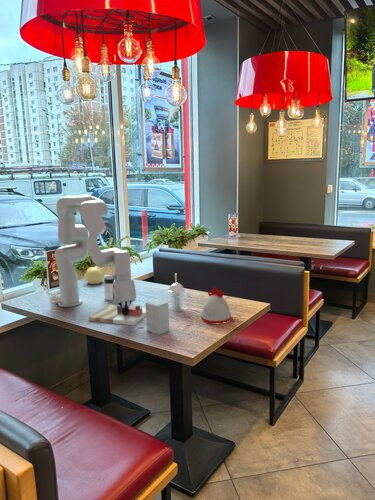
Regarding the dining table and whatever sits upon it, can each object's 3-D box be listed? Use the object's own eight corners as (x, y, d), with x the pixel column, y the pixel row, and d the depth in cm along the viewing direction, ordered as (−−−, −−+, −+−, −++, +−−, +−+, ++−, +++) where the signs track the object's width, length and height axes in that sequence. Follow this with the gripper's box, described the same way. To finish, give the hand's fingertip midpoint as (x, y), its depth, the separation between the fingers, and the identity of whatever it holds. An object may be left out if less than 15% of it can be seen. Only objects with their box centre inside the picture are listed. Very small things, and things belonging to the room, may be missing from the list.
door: (112, 323, 179) (112, 314, 179) (130, 310, 196) (129, 301, 195) (134, 325, 176) (133, 316, 175) (150, 311, 193) (149, 303, 192)
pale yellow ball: (107, 280, 255) (106, 264, 253) (100, 285, 243) (99, 268, 241) (90, 280, 256) (89, 264, 254) (83, 285, 245) (82, 268, 243)
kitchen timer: (222, 326, 172) (221, 294, 169) (195, 321, 179) (194, 289, 176) (235, 316, 183) (235, 286, 180) (210, 311, 190) (209, 282, 188)
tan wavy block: (88, 320, 183) (87, 310, 182) (108, 308, 200) (107, 298, 199) (113, 323, 179) (112, 312, 178) (130, 310, 196) (130, 300, 195)
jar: (108, 301, 211) (106, 280, 209) (102, 297, 218) (100, 277, 216) (123, 298, 216) (121, 277, 214) (117, 294, 223) (115, 274, 220)
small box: (169, 330, 169) (168, 302, 166) (159, 335, 164) (157, 306, 162) (157, 326, 174) (155, 298, 172) (146, 330, 169) (144, 302, 167)
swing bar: (121, 313, 186) (120, 305, 185) (124, 311, 188) (124, 303, 187) (139, 316, 181) (138, 307, 181) (142, 313, 184) (142, 305, 183)
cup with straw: (187, 307, 198) (186, 269, 194) (182, 313, 189) (181, 273, 185) (171, 306, 200) (170, 268, 196) (166, 312, 191) (164, 273, 188)
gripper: (110, 281, 172) (113, 320, 175) (141, 275, 179) (143, 313, 183) (104, 278, 178) (107, 315, 181) (134, 272, 186) (136, 309, 189)
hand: (125, 314), depth 182 cm, fingers closed
